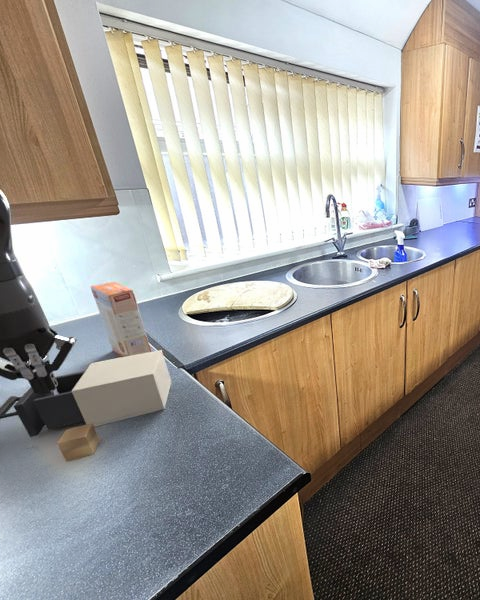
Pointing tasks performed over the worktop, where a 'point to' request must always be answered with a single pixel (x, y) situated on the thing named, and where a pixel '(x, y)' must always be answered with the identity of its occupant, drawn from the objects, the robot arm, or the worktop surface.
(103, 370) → the cream rectangular box
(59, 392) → the dark grey drawer
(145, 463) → the worktop surface
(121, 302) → the cracker box
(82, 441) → the block
